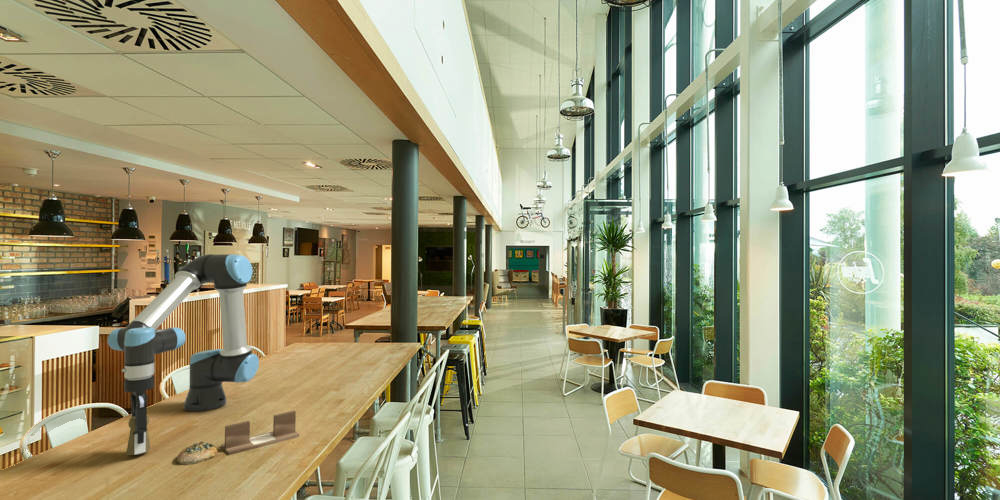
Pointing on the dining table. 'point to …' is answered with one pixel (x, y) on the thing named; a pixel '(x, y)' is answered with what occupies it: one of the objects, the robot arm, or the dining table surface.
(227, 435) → the notched board
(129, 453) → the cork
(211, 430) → the dining table surface
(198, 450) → the bread roll
